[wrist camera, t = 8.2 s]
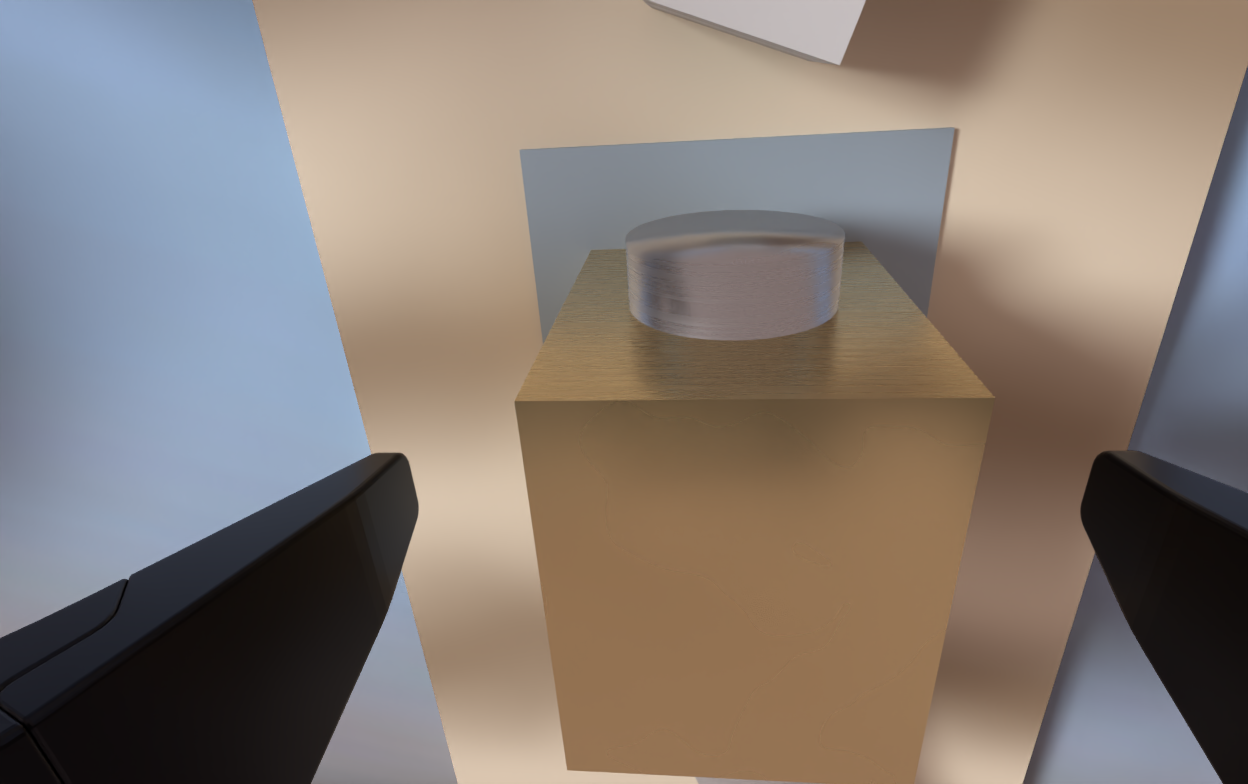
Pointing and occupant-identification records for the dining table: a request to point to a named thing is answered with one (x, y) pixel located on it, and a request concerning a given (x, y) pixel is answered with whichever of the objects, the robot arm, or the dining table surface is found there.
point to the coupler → (747, 503)
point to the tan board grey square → (752, 180)
